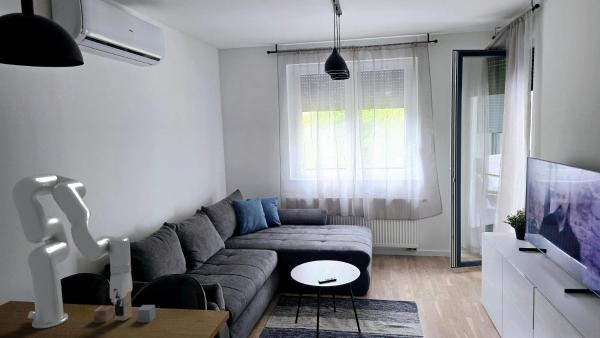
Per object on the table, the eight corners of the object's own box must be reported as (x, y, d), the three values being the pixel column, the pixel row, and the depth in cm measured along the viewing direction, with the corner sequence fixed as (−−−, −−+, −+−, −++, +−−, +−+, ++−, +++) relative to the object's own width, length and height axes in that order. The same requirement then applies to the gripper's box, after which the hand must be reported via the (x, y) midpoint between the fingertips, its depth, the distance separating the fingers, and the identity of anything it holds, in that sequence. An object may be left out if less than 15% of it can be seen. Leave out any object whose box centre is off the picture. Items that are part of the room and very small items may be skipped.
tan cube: (94, 323, 166) (93, 310, 166) (101, 317, 171) (100, 305, 171) (106, 322, 166) (105, 310, 165) (113, 317, 171) (112, 305, 170)
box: (124, 321, 165) (122, 293, 164) (114, 320, 166) (113, 293, 165) (132, 315, 170) (130, 289, 169) (122, 314, 171) (121, 288, 170)
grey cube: (138, 322, 165) (137, 310, 164) (143, 316, 170) (142, 305, 169) (150, 322, 164) (149, 310, 164) (155, 316, 169) (154, 304, 169)
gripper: (122, 261, 175) (124, 303, 176) (100, 275, 158) (103, 321, 159) (139, 261, 174) (141, 303, 176) (119, 275, 157) (121, 321, 159)
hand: (123, 311), depth 167 cm, fingers closed on box, 5 cm apart
